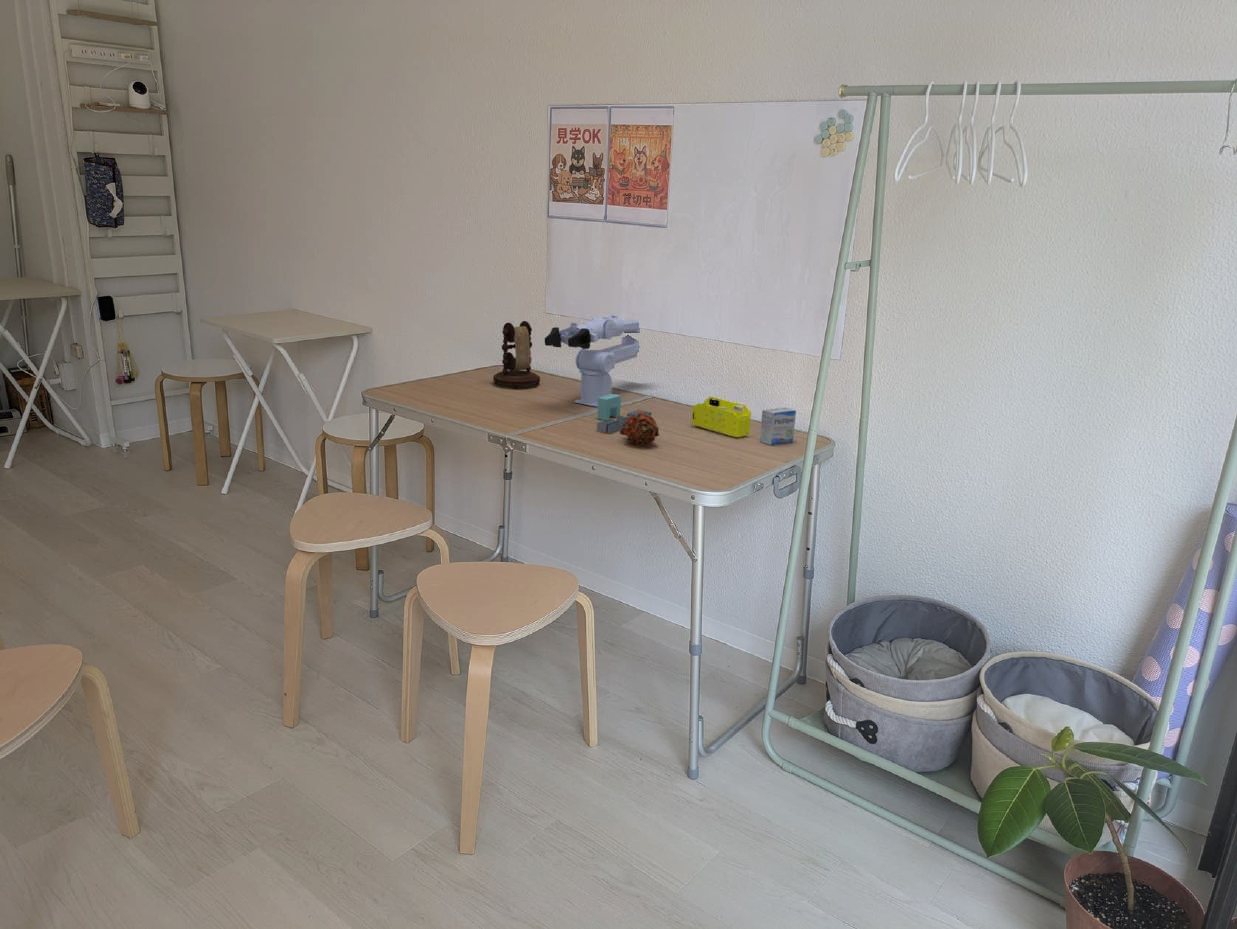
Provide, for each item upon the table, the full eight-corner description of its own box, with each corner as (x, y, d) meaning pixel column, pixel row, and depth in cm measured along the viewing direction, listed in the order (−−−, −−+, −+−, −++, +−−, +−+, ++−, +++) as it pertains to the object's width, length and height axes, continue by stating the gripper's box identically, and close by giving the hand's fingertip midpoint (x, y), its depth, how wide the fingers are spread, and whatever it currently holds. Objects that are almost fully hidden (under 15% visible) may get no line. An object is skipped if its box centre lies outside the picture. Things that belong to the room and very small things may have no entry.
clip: (611, 414, 260) (612, 393, 258) (620, 416, 258) (621, 395, 257) (597, 418, 254) (597, 397, 253) (605, 420, 253) (606, 399, 251)
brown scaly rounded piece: (651, 456, 227) (625, 450, 238) (673, 433, 230) (647, 428, 240) (633, 431, 224) (607, 426, 234) (655, 408, 226) (630, 404, 236)
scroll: (513, 391, 282) (514, 326, 276) (483, 383, 291) (483, 320, 285) (549, 385, 292) (551, 323, 286) (519, 377, 302) (520, 316, 296)
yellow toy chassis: (749, 437, 244) (752, 406, 242) (736, 440, 240) (739, 409, 238) (704, 424, 255) (706, 394, 252) (690, 427, 251) (692, 397, 248)
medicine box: (770, 445, 236) (773, 413, 233) (759, 441, 240) (762, 409, 237) (793, 442, 240) (796, 410, 237) (781, 438, 244) (785, 406, 241)
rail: (638, 417, 258) (638, 409, 257) (650, 420, 256) (651, 412, 255) (596, 431, 242) (597, 422, 241) (609, 433, 240) (610, 425, 239)
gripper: (561, 318, 263) (534, 326, 252) (605, 320, 256) (578, 328, 245) (563, 343, 265) (536, 352, 254) (606, 345, 258) (580, 354, 247)
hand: (557, 342), depth 250 cm, fingers open, 7 cm apart
